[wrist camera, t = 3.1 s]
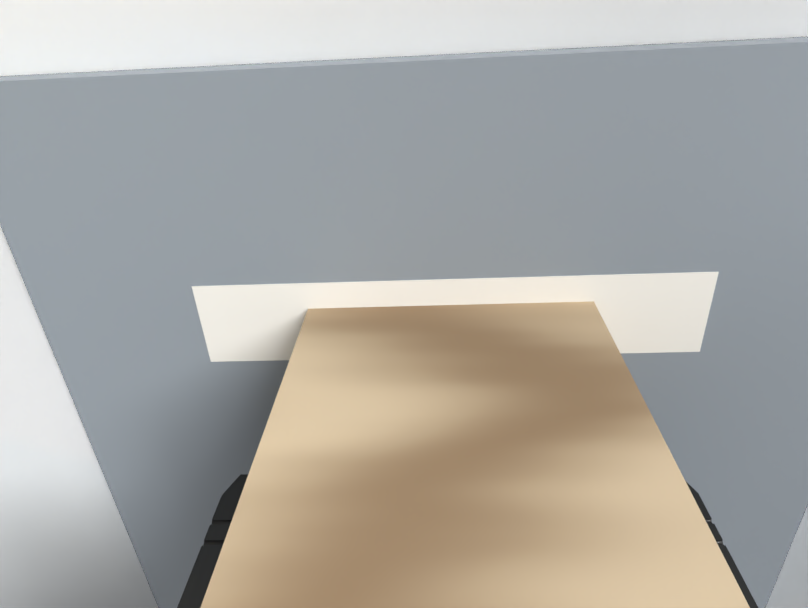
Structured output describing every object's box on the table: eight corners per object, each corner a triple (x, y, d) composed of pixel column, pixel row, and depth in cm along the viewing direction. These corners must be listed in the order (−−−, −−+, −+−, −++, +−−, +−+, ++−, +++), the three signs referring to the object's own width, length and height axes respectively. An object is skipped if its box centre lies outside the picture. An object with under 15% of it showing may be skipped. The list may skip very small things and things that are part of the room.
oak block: (593, 301, 10) (772, 651, 5) (560, 565, 14) (644, 937, 8) (308, 308, 10) (186, 647, 5) (346, 565, 14) (297, 925, 9)
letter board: (965, 29, 8) (1002, 32, 8) (731, 641, 16) (742, 665, 15) (-31, 77, 9) (-60, 84, 9) (188, 638, 17) (180, 660, 16)
